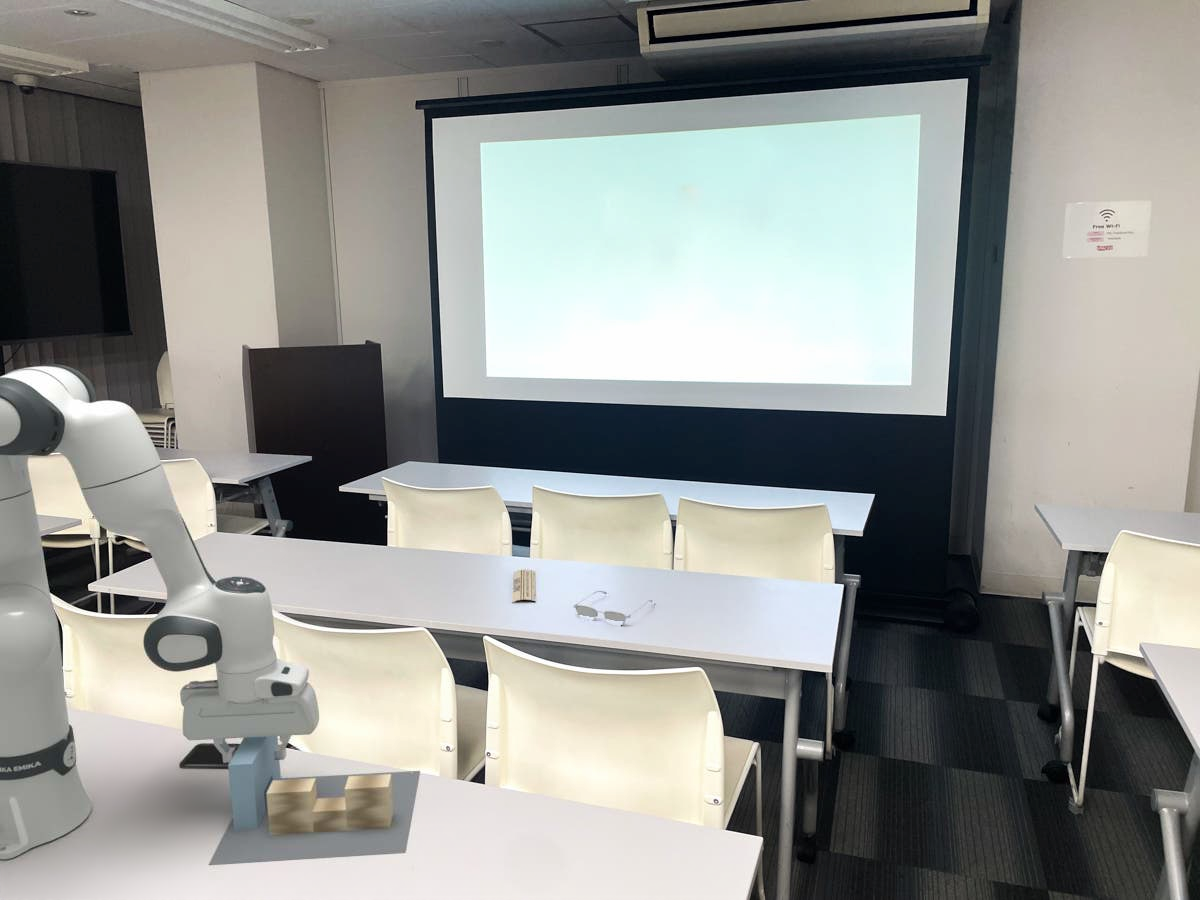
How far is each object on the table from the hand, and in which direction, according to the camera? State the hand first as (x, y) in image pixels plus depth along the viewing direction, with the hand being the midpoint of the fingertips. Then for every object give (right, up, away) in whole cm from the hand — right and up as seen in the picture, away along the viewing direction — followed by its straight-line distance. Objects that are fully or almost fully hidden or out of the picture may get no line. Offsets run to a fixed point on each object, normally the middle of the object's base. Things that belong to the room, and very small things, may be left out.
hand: (255, 759), depth 141 cm
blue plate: (0, -8, +2) cm, 8 cm away
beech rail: (+14, -9, -4) cm, 17 cm away
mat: (+11, -9, -1) cm, 14 cm away
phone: (-11, -6, +16) cm, 20 cm away
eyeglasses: (+59, +8, +84) cm, 103 cm away
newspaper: (+34, +11, +101) cm, 107 cm away
